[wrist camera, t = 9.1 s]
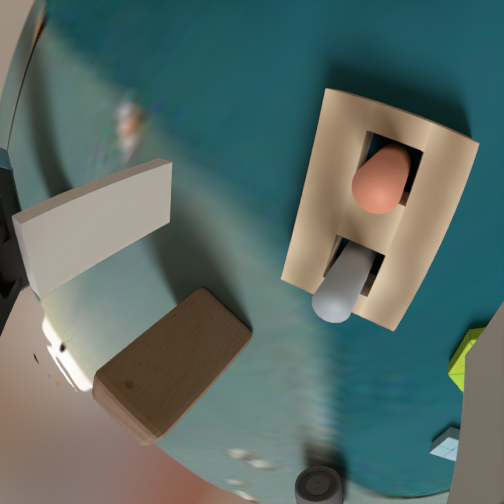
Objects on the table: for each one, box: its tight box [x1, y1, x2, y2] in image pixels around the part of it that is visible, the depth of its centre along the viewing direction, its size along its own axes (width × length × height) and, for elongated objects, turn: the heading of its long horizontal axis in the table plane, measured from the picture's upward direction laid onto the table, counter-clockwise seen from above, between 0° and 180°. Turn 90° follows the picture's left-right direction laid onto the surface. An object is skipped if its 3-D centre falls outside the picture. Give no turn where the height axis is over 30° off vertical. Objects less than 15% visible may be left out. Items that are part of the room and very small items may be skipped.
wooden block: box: [92, 288, 252, 446], centre depth 39 cm, size 10×10×20 cm
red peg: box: [352, 143, 411, 214], centre depth 21 cm, size 3×3×10 cm
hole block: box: [281, 88, 479, 331], centre depth 26 cm, size 12×18×4 cm, turn 169°
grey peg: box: [312, 240, 378, 323], centre depth 26 cm, size 3×3×10 cm
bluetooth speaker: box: [295, 466, 343, 504], centre depth 49 cm, size 23×9×10 cm, turn 12°
